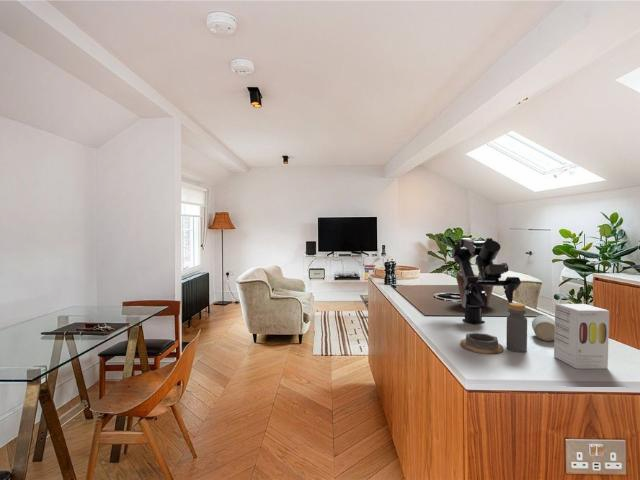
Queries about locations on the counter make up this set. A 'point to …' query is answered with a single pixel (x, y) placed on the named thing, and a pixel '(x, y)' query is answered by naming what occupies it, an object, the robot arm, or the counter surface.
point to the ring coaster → (495, 351)
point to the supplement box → (581, 335)
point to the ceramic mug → (544, 327)
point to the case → (461, 290)
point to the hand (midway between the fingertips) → (497, 303)
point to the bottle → (517, 328)
